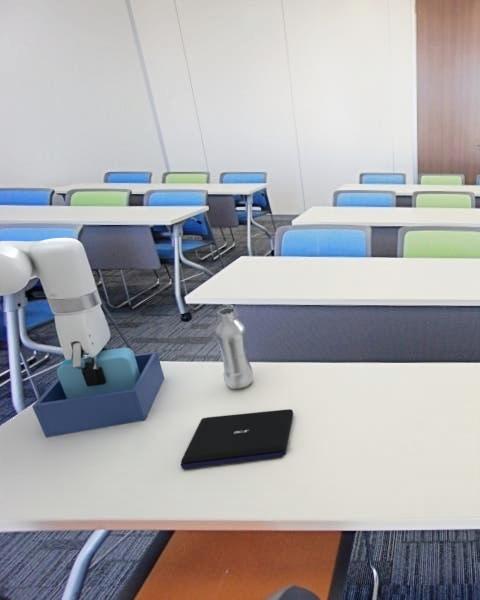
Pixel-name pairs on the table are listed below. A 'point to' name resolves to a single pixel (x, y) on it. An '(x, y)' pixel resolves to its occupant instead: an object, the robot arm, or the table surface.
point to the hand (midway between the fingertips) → (101, 376)
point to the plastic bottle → (233, 349)
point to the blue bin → (100, 403)
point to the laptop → (239, 438)
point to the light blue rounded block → (115, 367)
